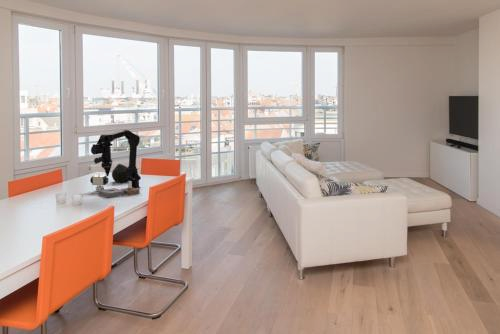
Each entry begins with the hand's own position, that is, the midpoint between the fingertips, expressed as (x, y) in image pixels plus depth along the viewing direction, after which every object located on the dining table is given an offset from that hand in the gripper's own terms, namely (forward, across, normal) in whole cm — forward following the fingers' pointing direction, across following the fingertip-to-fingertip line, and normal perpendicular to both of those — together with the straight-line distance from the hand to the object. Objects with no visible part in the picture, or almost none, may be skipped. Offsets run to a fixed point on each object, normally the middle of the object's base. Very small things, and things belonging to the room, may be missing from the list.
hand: (107, 174), depth 300 cm
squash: (+14, -42, +8) cm, 45 cm away
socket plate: (+13, +5, +2) cm, 14 cm away
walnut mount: (+14, +4, +14) cm, 20 cm away
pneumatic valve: (+14, -11, -7) cm, 19 cm away
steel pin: (+14, +4, +14) cm, 20 cm away
